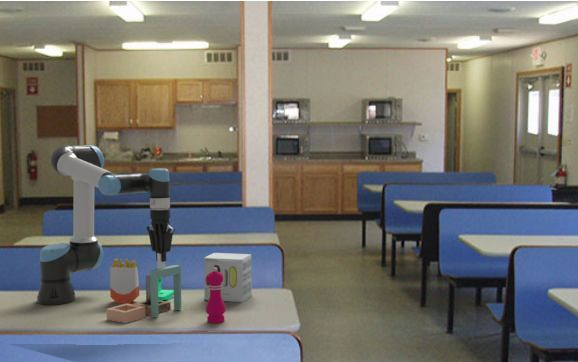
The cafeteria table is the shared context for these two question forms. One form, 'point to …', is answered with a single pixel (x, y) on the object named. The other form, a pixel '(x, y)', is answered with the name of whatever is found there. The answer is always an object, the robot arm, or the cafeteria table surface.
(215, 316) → the pepper mill
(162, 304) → the socket block
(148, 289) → the metal cylinder
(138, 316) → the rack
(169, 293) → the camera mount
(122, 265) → the french fries container
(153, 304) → the teal green arch
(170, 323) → the cafeteria table surface
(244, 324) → the cafeteria table surface
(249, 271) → the supplement box
